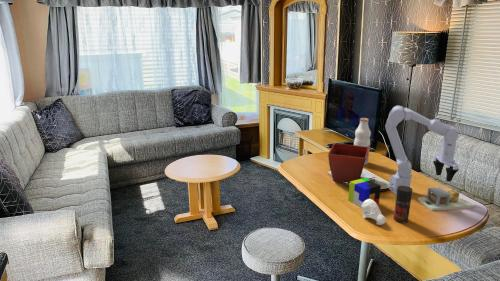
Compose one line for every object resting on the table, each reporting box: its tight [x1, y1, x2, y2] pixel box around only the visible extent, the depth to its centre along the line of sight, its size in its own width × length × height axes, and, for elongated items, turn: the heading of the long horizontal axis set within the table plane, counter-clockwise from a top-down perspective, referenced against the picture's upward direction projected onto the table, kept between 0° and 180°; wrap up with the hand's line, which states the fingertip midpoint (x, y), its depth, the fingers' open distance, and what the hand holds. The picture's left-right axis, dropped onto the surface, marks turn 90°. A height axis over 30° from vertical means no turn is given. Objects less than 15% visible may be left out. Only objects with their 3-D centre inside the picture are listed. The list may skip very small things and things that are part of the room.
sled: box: [429, 189, 460, 204], centre depth 176 cm, size 12×4×5 cm, turn 99°
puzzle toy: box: [347, 177, 382, 209], centre depth 177 cm, size 10×10×10 cm
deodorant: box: [393, 186, 413, 224], centre depth 161 cm, size 6×6×15 cm
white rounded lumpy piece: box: [360, 199, 387, 226], centre depth 161 cm, size 6×8×12 cm
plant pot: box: [327, 143, 370, 184], centre depth 203 cm, size 19×19×17 cm
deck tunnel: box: [417, 186, 474, 212], centre depth 176 cm, size 21×11×7 cm, turn 99°
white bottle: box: [353, 117, 372, 166], centre depth 224 cm, size 9×9×28 cm
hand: (443, 178), depth 181 cm, fingers open, 7 cm apart
